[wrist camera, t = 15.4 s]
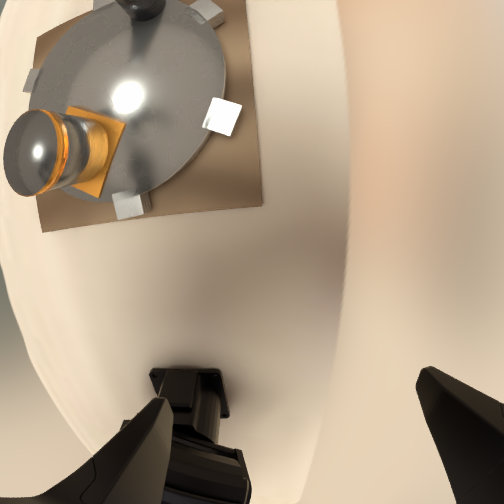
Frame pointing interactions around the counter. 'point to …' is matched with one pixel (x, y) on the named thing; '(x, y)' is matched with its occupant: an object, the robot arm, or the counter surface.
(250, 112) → the sprocket base
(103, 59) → the sprocket
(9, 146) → the roller
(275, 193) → the counter surface
